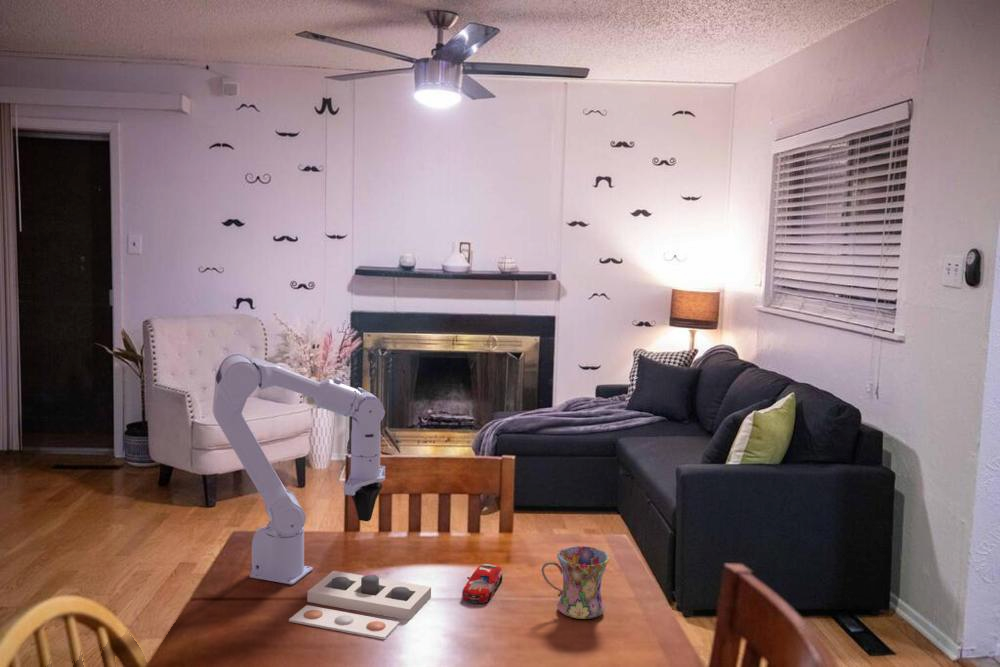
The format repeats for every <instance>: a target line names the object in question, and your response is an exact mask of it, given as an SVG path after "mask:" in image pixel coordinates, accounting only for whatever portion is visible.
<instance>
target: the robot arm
mask: <svg viewBox="0 0 1000 667" xmlns="http://www.w3.org/2000/svg"><path fill="white" fill-rule="evenodd" d="M275 386H277V387H279V388H282V389H285V390H289V391H291V392H293V393H294V392H295V393H298V394H301V395H303V396H307V397H309V398H313V401H314V403H315V405H316V406H317V407H318V408H321V409H323V410H327V411H329V412H332V413H334V414H337V415H341V416H344V417H346V418H349V417H352V418H351V433H350V434H351V436H350V439H351V440H350V441H351V444H350V448H351V449H350V474H349V475H348V476H349V477H348V478H347V481H346V483H344V485H343V495H346V496H350V497H351V498H352V501H353V503H354V506H355V510H356V515H357V519H358V521H361V522H370V520H371V519H372V517H373V512H374V509H375V505H376V502H377V499H378V496H379V494H380V492H381V490H382V488H383V482H384V481H386V466H385V465H381V445H382V444H381V440H382V438H381V434H382V432H381V421H383V419H384V417H385V415H386V410H385V408H384V404H383V403H382V401H381V400H380V399H379V398H378V397H377V396H375V395H374V393H371V392H369V391H368V390H366V389H363V388H362V387H359V386H358V387H357V388H355V387H352V386H349V385H347V384H344V383H342V379H340V378H337V377H333V379H331V378H324V379H323V380H320V381H319V380H318V381H317V380H315V379H312V378H310V377H307V376H305V375H302V374H300V373H297V372H295V371H292V370H290V369H289V368H285V367H284V366H283V367H282V366H280V365H278V364H275V363H273V362H270V361H266V360H264V359H260V358H257V357H251V359H250V358H249V357H248V356H246V355H245V354H242V353H232V354H230V355H227V356H226V357H225V358H224V359H223V360H222V361H221V363H220V365H219V366H218V369H217V371H216V373H215V376H214V391H213V392H214V393H213V402H212V404H213V405H212V413H213V417H214V418H215V421H216V422H217V424H218V426H219V427H220V429H221V431H222V432H223V434H224V436H225V437H226V439H227V441H228V442H229V445H230V447H231V448H232V449H233V451H234V452H235V454H236V456H237V459H239V461H240V462H241V465H242V466H243V468H244V469H245V471H246V474H248V476H249V478H250V479H251V481H252V483H253V485H254V487H255V488H256V490H257V492H258V494H259V495H260V497H261V499H262V500H263V502H264V506H265V507H264V508H265V512H266V515H267V516H268V518H269V521H268V524H266V526H261V527H259V528H257V530H256V531H255V532H254V534H253V536H252V541H251V573H250V574H249V578H251V579H252V578H253V579H257V580H263V581H264V580H265V581H269V582H275V583H280V584H286V585H294V584H296V583H297V582H298V581H300V580H301V579H303V577H305V576H306V575H307V574H309V573H310V572H311V571H313V568H314V567H312V566H308V565H305V524H306V513H305V511H304V509H303V507H302V506H301V505H300V504H299V502H298V498H297V495H295V493H294V492H292V491H290V490H288V489H287V488H286V487H285V485H284V484H283V482H282V481H281V479H280V477H279V476H278V474H277V472H276V471H275V468H274V467H273V465H272V464H271V461H270V460H269V458H268V457H267V455H266V454H265V452H264V449H263V448H262V446H261V445H260V443H259V441H258V439H257V438H256V436H255V434H254V432H253V431H252V430H251V428H250V426H249V423H248V422H247V420H246V419H245V417H244V416H243V410H244V408H245V406H246V403H247V400H248V399H249V397H251V395H252V394H253V393H254V392H255V391H256V389H257V388H258V387H259V389H260V390H261V391H262V390H266V389H268V388H271V387H275Z"/></svg>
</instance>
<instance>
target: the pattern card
mask: <svg viewBox="0 0 1000 667" xmlns="http://www.w3.org/2000/svg"><path fill="white" fill-rule="evenodd" d="M288 622H290V623H294V624H295V623H296V624H300V625H306V626H310V627H316V628H321V629H326V630H331V631H337V632H341V633H347V634H354V635H358V636H363V637H369V638H373V639H378V640H379V639H380V640H384V641H385V640H386V639H387V638H388V637H389V636H390V635H391V634H392V633H393V632H394V631H395V630H396V628H398V626H399V625H400V621H397V620H390V619H385V618H380V617H373V616H367V615H363V614H357V613H352V612H346V611H341V610H336V609H330V608H324V607H319V606H314V605H309V604H307V605H305V606H304V607H303V608H301V609H300V610H299V611H298V612H296V613H295V614H294V615H293V616H292V617H290V618H289V619H288Z"/></svg>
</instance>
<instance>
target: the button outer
mask: <svg viewBox="0 0 1000 667" xmlns="http://www.w3.org/2000/svg"><path fill="white" fill-rule="evenodd" d="M391 599H397V600H402V601H407V600H408V599H409V589H408V588H406V587H395V588H393V589H392V590H391Z"/></svg>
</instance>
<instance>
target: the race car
mask: <svg viewBox="0 0 1000 667" xmlns="http://www.w3.org/2000/svg"><path fill="white" fill-rule="evenodd" d="M466 579H467V580H468V581H467V583H465V586H464V587H463V589H462V591H461V592H462V593H461V594H462V597H461V598H462V599H463V600H465V601H466V602H471V603H476V604H477V603H478V604H480V603H482V604H483V603H489V602H490V601H491V599H492V597H493V596H494V595H495V593H496V592H497V590H498V589H499V587H500V586H501V584H502V583H503V570H502V567H500V565H496V564H489V563H483V564H481V565H479V566H478V567H477V568H476V569H475V570H474V572H473V573H472V575H471V576H468V577H466Z"/></svg>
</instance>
